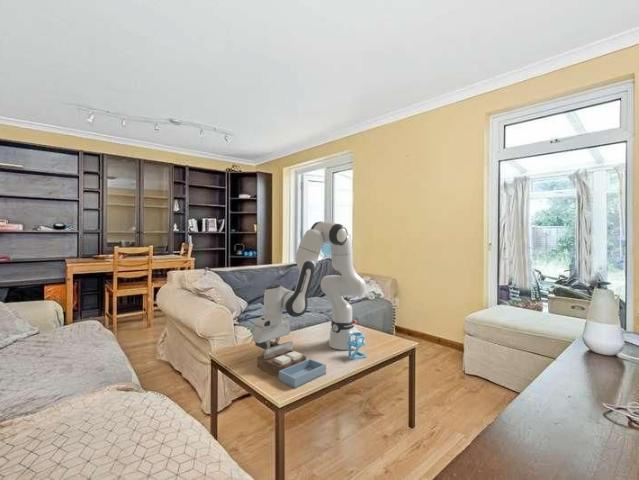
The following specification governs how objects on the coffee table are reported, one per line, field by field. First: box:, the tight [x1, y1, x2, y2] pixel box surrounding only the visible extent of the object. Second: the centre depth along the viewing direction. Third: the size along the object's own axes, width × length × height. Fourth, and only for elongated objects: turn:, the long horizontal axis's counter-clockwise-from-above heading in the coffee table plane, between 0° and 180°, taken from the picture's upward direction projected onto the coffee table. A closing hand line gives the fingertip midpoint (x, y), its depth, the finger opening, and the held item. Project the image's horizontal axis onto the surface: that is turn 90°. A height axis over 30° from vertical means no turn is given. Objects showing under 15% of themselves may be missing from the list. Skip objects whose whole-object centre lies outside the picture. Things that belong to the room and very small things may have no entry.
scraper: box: [254, 340, 294, 359], centre depth 155 cm, size 18×16×4 cm
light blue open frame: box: [347, 332, 368, 360], centre depth 163 cm, size 8×8×12 cm
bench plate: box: [256, 350, 307, 379], centre depth 148 cm, size 16×16×5 cm
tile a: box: [287, 350, 303, 360], centre depth 148 cm, size 5×5×2 cm
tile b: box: [275, 355, 291, 365], centre depth 143 cm, size 5×5×2 cm
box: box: [278, 358, 327, 389], centre depth 139 cm, size 19×10×4 cm, turn 138°
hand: (272, 347), depth 153 cm, fingers closed on scraper, 2 cm apart
